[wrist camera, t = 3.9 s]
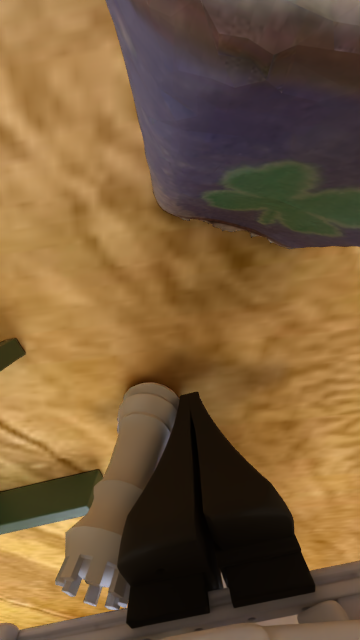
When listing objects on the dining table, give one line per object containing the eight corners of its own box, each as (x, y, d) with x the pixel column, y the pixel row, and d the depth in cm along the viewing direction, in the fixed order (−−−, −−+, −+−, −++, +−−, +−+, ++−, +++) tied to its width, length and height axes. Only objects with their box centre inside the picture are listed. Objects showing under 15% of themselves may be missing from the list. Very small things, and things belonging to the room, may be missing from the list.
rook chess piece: (170, 432, 14) (131, 629, 7) (118, 409, 14) (22, 586, 7) (195, 395, 13) (179, 605, 5) (136, 368, 12) (34, 545, 5)
